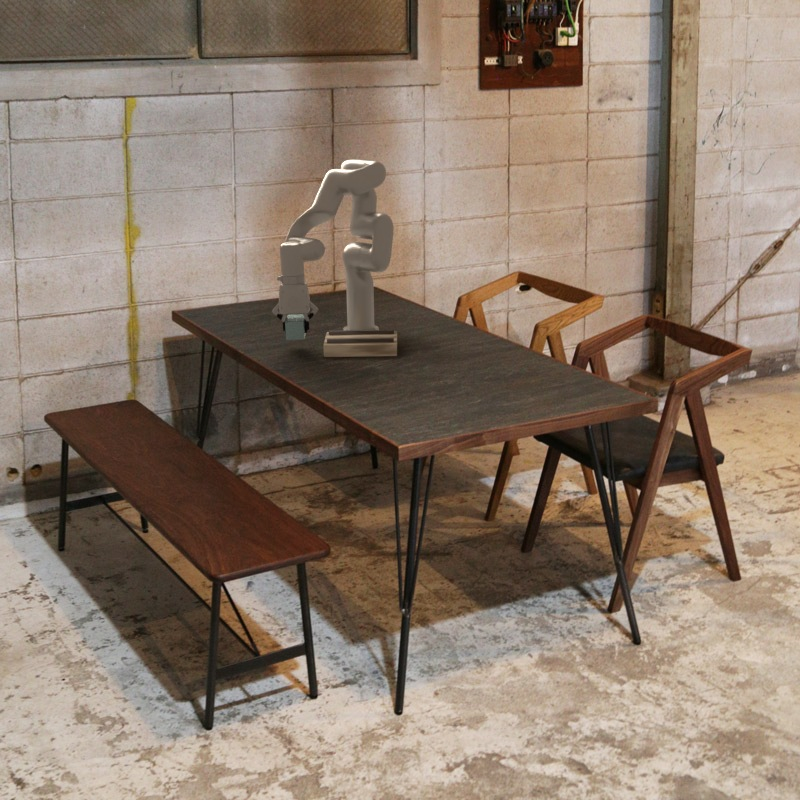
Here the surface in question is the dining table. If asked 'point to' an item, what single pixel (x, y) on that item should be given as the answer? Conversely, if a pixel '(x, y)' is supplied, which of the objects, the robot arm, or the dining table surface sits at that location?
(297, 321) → the housing
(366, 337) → the stand
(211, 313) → the dining table surface
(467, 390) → the dining table surface
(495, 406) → the dining table surface
